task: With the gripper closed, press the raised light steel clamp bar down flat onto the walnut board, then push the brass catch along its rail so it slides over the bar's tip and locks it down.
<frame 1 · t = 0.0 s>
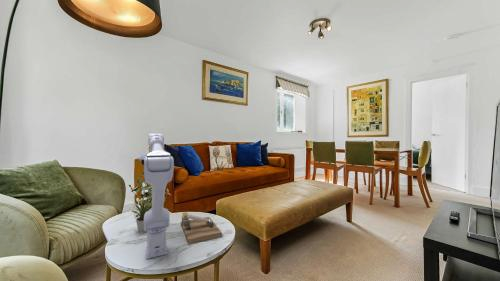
hand: (154, 166, 110), 32 cm above the table, tool tilted 50°, fingers open, 7 cm apart
clamp bar: (199, 218, 104), point 6 cm above the table, hinge at 22.0°
brass catch: (185, 215, 108), point 6 cm above the table, slide at 0.0 cm
house plant: (143, 231, 103), on the table
walnut board: (200, 230, 104), on the table
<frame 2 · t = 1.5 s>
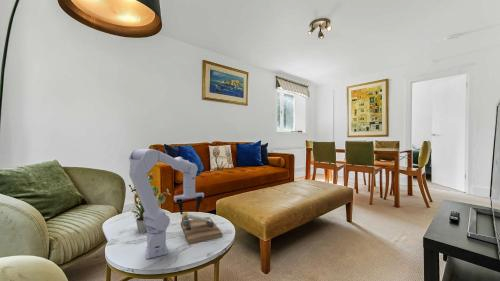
hand: (189, 212, 102), 10 cm above the table, tool pointing down, fingers open, 7 cm apart
nothing on the table moved.
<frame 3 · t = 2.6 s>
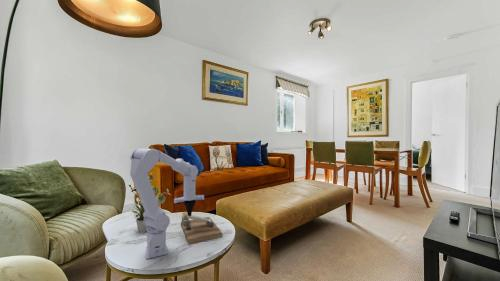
hand: (189, 215, 101), 9 cm above the table, tool pointing down, fingers closed
clamp bar: (199, 218, 104), point 6 cm above the table, hinge at 22.0°, touching gripper
everything else where it was.
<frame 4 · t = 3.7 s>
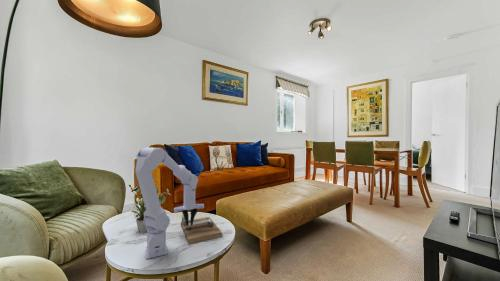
hand: (189, 224, 101), 4 cm above the table, tool pointing down, fingers closed
clamp bar: (198, 223, 104), point 4 cm above the table, hinge at -1.0°, touching gripper, walnut board
everything else where it was.
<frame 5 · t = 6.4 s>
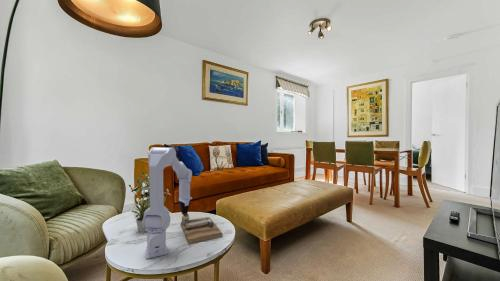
hand: (184, 214, 111), 5 cm above the table, tool pointing down, fingers closed
clamp bar: (198, 223, 104), point 4 cm above the table, hinge at -1.0°, touching walnut board
brass catch: (185, 216, 107), point 6 cm above the table, slide at 1.3 cm, touching gripper
everything else where it was.
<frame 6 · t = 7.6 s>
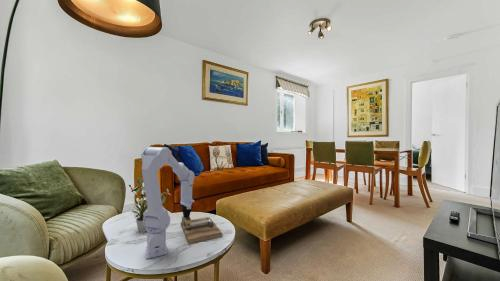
hand: (186, 218, 106), 5 cm above the table, tool pointing down, fingers closed
brass catch: (187, 220, 102), point 6 cm above the table, slide at 7.0 cm, touching gripper
everything else where it was.
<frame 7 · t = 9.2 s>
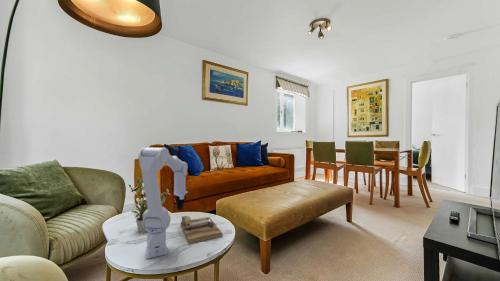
hand: (179, 209, 107), 10 cm above the table, tool pointing down, fingers closed
brass catch: (187, 220, 102), point 6 cm above the table, slide at 7.1 cm
everything else where it was.
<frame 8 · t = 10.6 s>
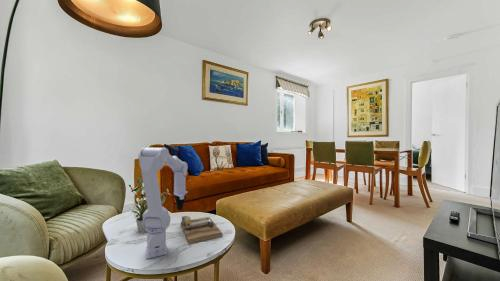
hand: (179, 209, 107), 10 cm above the table, tool pointing down, fingers closed
nothing on the table moved.
at the end: clamp bar at -1° (first picture: +22°); brass catch slide at 7.1 cm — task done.
